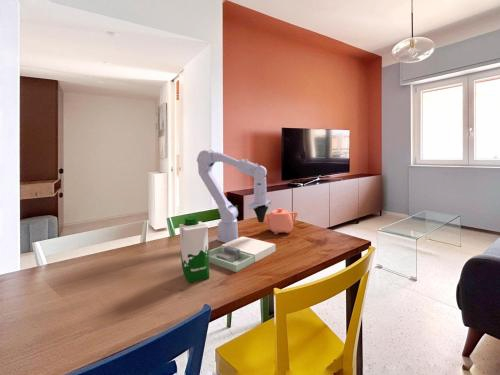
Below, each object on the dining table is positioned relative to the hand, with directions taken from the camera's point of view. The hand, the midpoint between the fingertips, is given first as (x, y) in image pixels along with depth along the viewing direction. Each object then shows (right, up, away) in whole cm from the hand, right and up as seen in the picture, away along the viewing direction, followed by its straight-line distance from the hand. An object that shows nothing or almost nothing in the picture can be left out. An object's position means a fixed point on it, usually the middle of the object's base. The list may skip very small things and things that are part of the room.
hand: (260, 221), depth 124 cm
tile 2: (-11, -10, -18) cm, 23 cm away
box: (-14, -13, -20) cm, 27 cm away
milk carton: (-23, -15, -32) cm, 42 cm away
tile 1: (-14, -10, -21) cm, 27 cm away
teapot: (+10, -7, +16) cm, 21 cm away
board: (-6, -11, -11) cm, 16 cm away
